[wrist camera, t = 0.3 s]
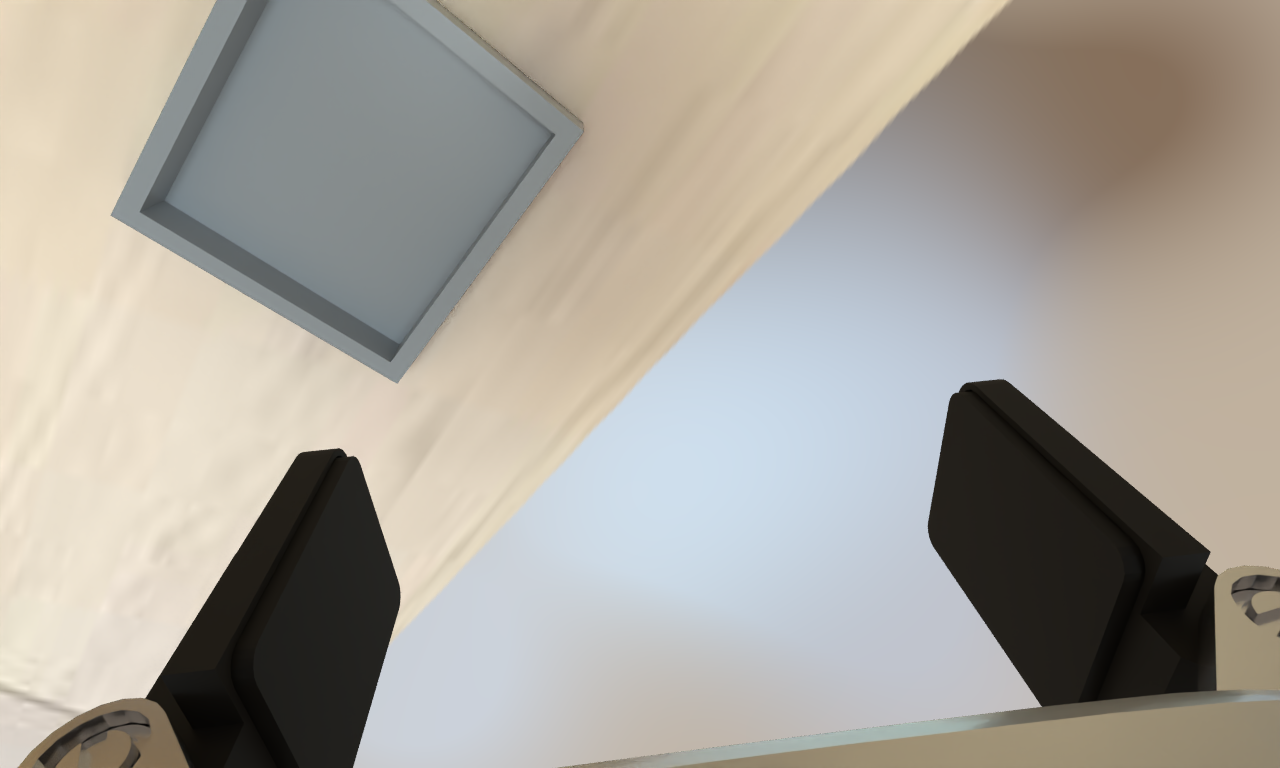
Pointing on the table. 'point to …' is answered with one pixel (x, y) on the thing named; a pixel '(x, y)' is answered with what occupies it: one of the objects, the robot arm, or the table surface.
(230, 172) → the tray
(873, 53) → the table surface
